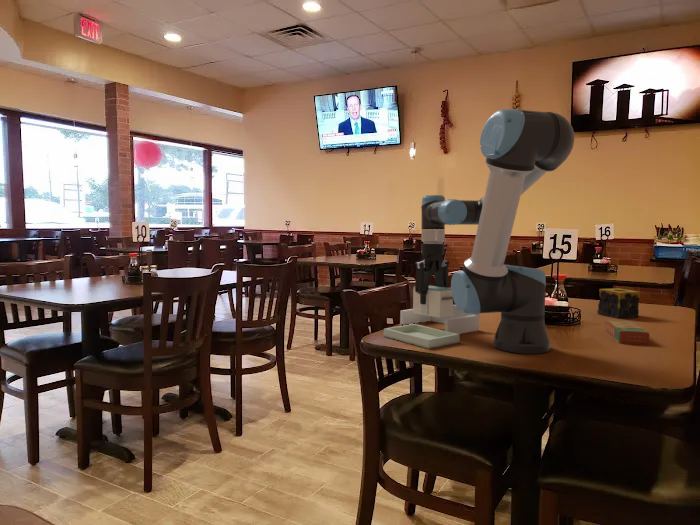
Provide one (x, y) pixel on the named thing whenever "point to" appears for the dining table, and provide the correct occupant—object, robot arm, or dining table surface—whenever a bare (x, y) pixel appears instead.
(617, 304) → the yellow and blue cube
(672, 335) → the dining table surface
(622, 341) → the carton
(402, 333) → the tray
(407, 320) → the bay
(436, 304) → the mint-topped white block
